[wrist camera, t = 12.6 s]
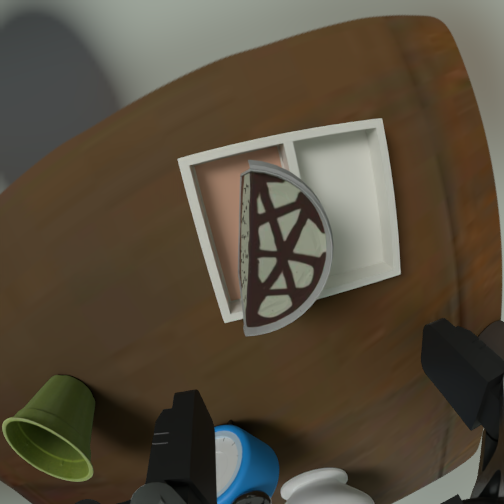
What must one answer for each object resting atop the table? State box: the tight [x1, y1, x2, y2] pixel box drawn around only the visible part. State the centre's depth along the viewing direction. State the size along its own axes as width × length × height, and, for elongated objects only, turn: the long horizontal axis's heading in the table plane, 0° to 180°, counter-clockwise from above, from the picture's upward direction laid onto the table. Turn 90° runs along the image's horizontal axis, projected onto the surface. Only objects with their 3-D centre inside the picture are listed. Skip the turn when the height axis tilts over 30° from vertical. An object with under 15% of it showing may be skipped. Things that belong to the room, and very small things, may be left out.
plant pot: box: [2, 375, 95, 482], centre depth 30 cm, size 12×12×11 cm
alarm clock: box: [214, 420, 279, 504], centre depth 32 cm, size 13×6×15 cm, turn 131°
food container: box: [238, 160, 334, 336], centre depth 25 cm, size 12×6×10 cm, turn 178°
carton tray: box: [178, 118, 401, 323], centre depth 29 cm, size 18×16×3 cm
